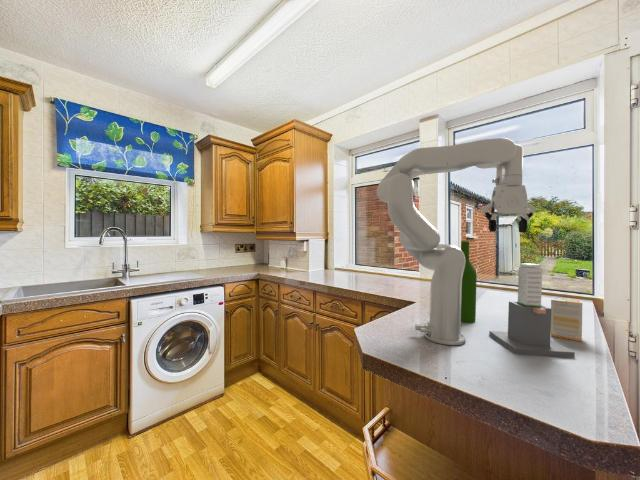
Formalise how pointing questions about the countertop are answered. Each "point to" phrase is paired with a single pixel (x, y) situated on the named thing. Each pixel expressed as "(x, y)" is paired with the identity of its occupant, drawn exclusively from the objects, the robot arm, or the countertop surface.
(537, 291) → the column
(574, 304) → the supplement box
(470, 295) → the wine bottle
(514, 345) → the stand
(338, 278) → the countertop surface
